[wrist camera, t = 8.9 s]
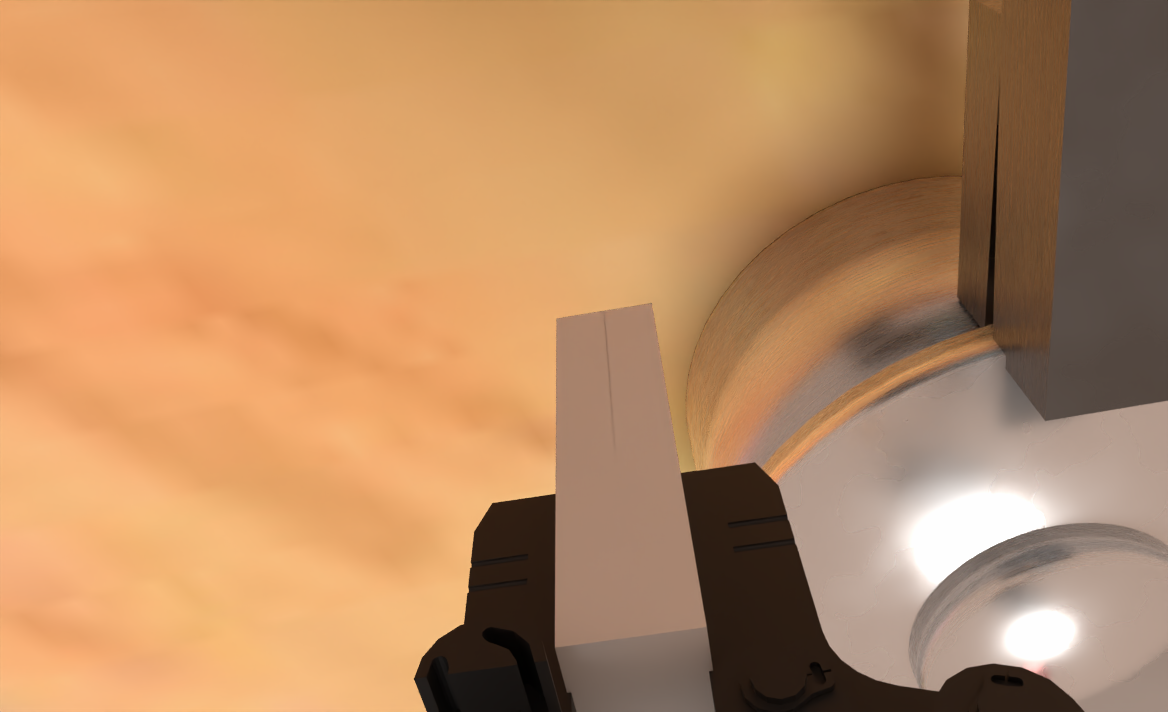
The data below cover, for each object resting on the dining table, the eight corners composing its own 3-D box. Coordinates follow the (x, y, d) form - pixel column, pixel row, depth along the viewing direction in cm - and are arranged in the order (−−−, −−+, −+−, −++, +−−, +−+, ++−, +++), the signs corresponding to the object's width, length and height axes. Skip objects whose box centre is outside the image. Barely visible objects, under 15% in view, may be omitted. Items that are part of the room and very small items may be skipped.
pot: (1109, 564, 43) (1262, 781, 34) (712, 616, 45) (752, 840, 35) (1218, -117, 29) (1532, -68, 20) (629, -15, 30) (661, 79, 21)
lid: (1308, 755, 33) (1420, 900, 29) (738, 833, 35) (764, 982, 30) (1580, -156, 19) (1881, -137, 15) (592, 46, 20) (600, 118, 16)
